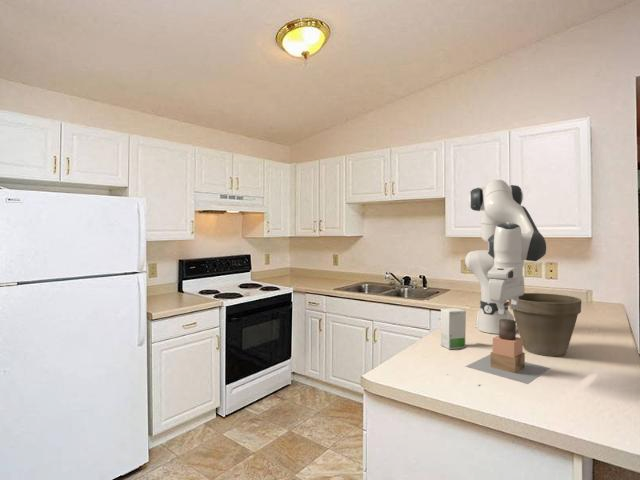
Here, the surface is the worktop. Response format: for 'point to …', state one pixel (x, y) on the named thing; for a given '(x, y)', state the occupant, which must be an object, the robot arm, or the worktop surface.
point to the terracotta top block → (508, 346)
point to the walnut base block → (508, 362)
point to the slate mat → (522, 376)
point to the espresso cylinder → (507, 329)
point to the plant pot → (546, 322)
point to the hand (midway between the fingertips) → (507, 311)
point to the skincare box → (453, 328)
